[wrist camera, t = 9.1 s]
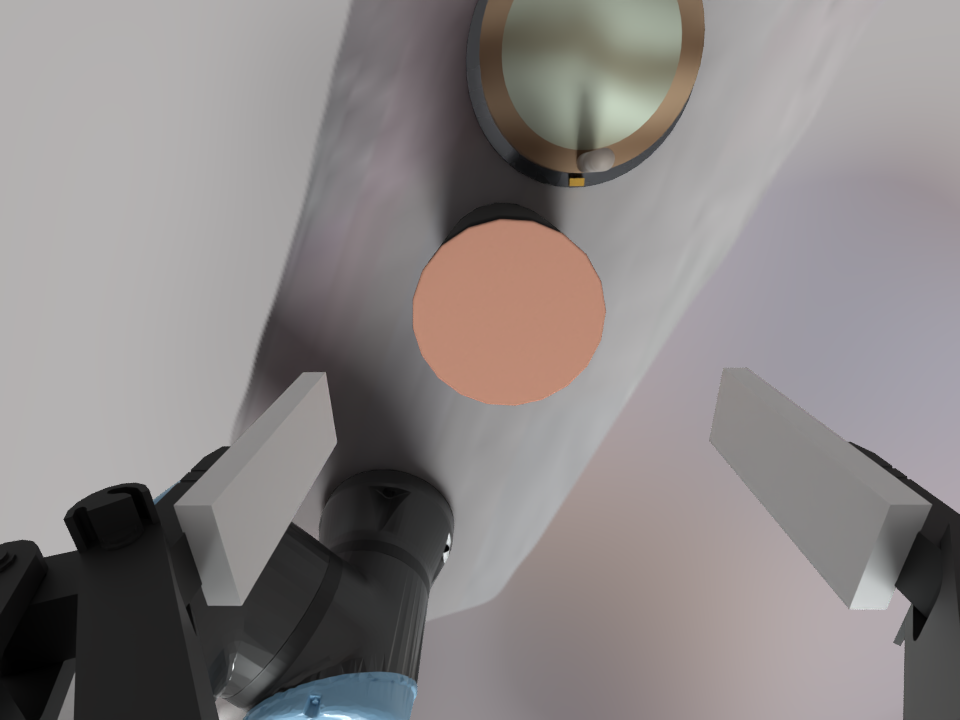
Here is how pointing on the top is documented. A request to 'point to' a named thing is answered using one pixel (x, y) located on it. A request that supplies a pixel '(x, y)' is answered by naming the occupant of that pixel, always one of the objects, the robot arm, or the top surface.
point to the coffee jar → (508, 307)
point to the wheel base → (508, 151)
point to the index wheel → (588, 76)
